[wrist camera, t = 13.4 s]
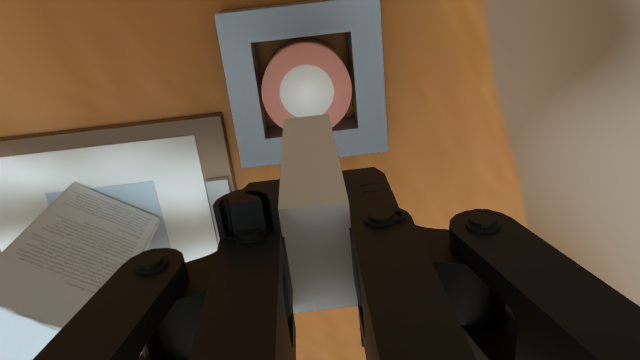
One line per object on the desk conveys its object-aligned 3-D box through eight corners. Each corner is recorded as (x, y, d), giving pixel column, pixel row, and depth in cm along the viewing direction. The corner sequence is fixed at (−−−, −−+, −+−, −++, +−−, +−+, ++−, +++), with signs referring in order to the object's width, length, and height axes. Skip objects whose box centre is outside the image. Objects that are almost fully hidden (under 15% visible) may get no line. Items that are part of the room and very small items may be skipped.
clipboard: (-46, 143, 31) (-61, 150, 30) (221, 112, 31) (218, 118, 30) (23, 310, 36) (13, 323, 35) (254, 284, 36) (252, 295, 35)
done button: (258, 43, 29) (254, 51, 26) (343, 33, 29) (348, 40, 26) (270, 125, 31) (268, 140, 28) (350, 115, 31) (355, 130, 28)
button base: (220, 11, 29) (214, 14, 27) (373, -7, 29) (379, -5, 27) (245, 155, 32) (241, 168, 30) (382, 139, 32) (388, 151, 30)
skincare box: (54, 232, 33) (-68, 364, 22) (73, 179, 32) (-46, 291, 21) (142, 266, 34) (69, 407, 23) (164, 217, 33) (98, 341, 22)
